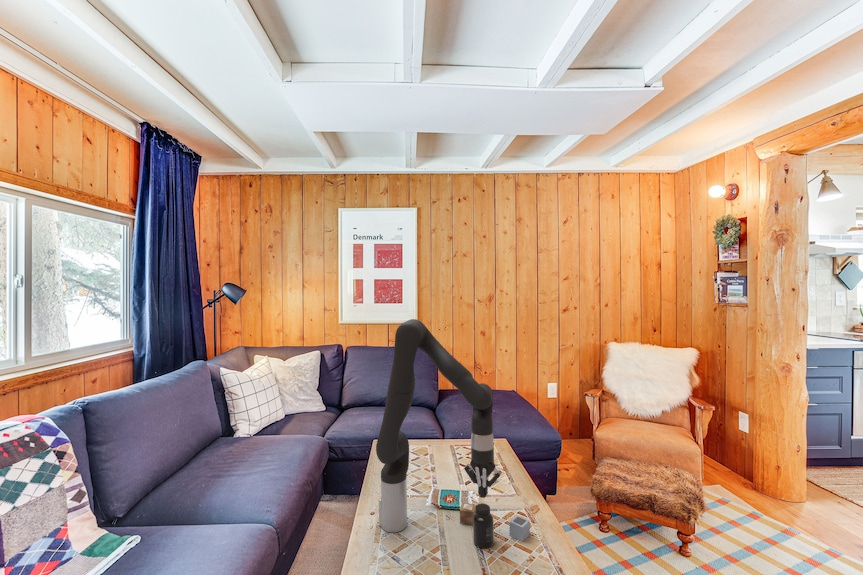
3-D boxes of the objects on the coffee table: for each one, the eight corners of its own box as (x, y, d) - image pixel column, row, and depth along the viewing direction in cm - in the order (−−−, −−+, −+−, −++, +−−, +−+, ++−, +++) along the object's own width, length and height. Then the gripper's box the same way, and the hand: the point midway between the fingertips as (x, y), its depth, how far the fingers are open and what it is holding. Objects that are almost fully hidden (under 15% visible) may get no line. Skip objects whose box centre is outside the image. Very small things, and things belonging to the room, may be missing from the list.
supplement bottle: (491, 535, 137) (491, 501, 137) (495, 548, 130) (495, 512, 130) (471, 536, 137) (471, 501, 137) (474, 549, 130) (474, 513, 130)
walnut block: (460, 523, 144) (459, 509, 144) (462, 515, 149) (462, 501, 149) (473, 525, 143) (473, 511, 143) (476, 517, 148) (476, 503, 147)
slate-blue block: (509, 535, 137) (509, 520, 137) (516, 528, 141) (516, 514, 141) (522, 542, 134) (522, 526, 134) (529, 534, 137) (529, 519, 137)
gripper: (459, 446, 132) (460, 497, 133) (498, 453, 126) (498, 507, 127) (468, 437, 139) (468, 486, 140) (504, 444, 133) (505, 495, 134)
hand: (483, 496), depth 133 cm, fingers closed
